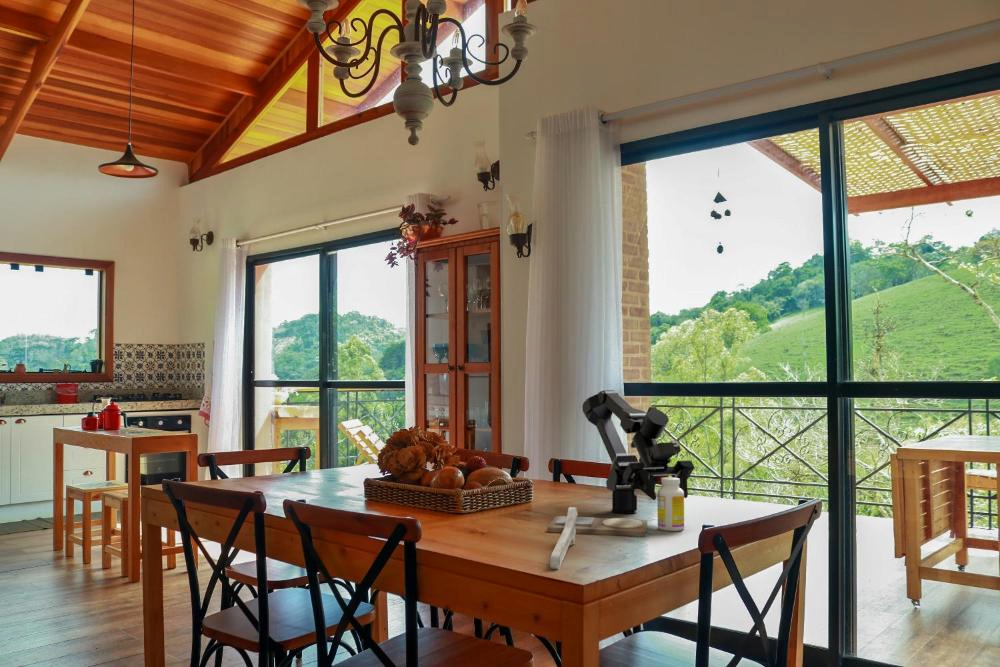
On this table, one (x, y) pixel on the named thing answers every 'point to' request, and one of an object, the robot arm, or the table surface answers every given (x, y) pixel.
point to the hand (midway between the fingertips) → (670, 498)
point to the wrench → (564, 539)
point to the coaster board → (602, 526)
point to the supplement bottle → (670, 505)
